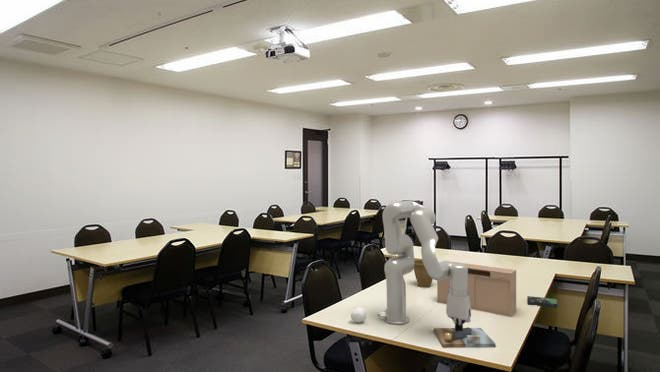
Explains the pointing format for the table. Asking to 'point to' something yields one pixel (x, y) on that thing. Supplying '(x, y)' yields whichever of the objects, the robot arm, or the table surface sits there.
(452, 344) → the plate
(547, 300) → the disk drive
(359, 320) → the white ball
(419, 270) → the plant pot
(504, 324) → the table surface
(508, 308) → the box
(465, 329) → the lock bar
